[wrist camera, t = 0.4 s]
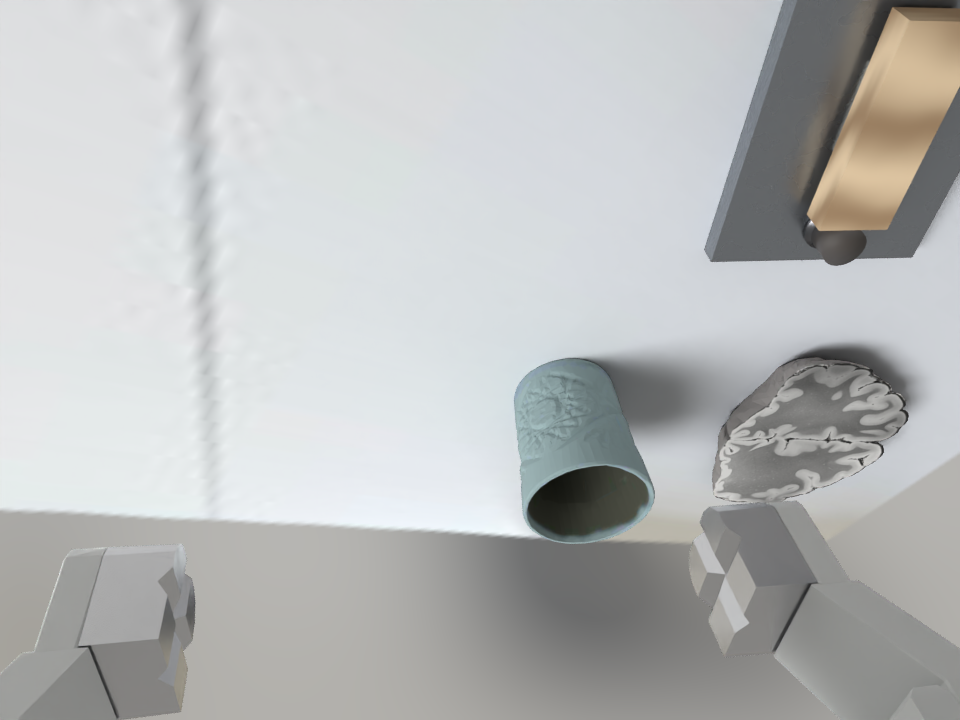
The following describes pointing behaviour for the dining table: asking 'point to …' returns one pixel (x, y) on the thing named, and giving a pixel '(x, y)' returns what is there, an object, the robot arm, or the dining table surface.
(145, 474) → the dining table surface
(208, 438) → the dining table surface
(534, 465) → the teal textured cup
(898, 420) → the brain section slice
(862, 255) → the gray base panel
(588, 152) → the dining table surface
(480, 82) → the dining table surface
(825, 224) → the swing bar
